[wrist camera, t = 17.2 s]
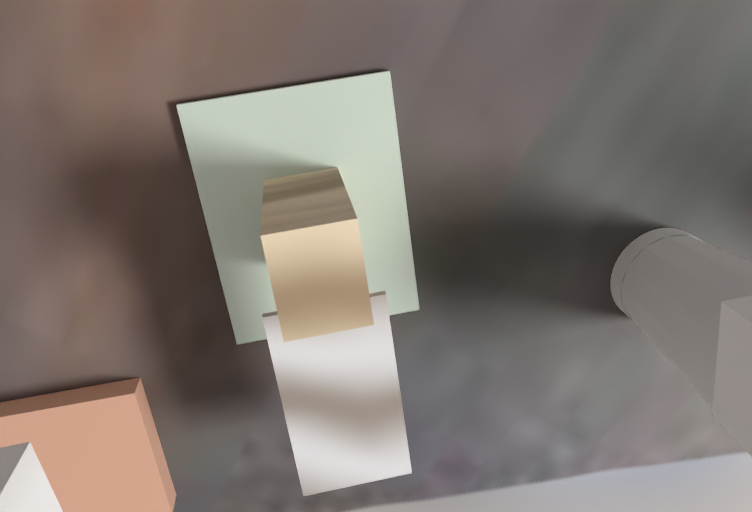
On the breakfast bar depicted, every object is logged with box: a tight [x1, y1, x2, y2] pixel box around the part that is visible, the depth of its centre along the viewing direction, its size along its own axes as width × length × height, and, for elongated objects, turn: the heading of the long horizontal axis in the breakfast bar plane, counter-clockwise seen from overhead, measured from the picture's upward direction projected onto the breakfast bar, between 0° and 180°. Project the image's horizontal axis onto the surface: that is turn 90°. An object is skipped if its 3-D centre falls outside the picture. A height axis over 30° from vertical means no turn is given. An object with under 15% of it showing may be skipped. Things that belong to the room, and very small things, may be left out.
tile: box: [0, 378, 176, 512], centre depth 38 cm, size 2×9×9 cm
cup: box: [610, 228, 752, 409], centre depth 35 cm, size 8×8×12 cm
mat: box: [176, 70, 419, 345], centre depth 35 cm, size 14×11×1 cm
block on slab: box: [260, 167, 412, 496], centre depth 33 cm, size 16×6×9 cm, turn 8°
